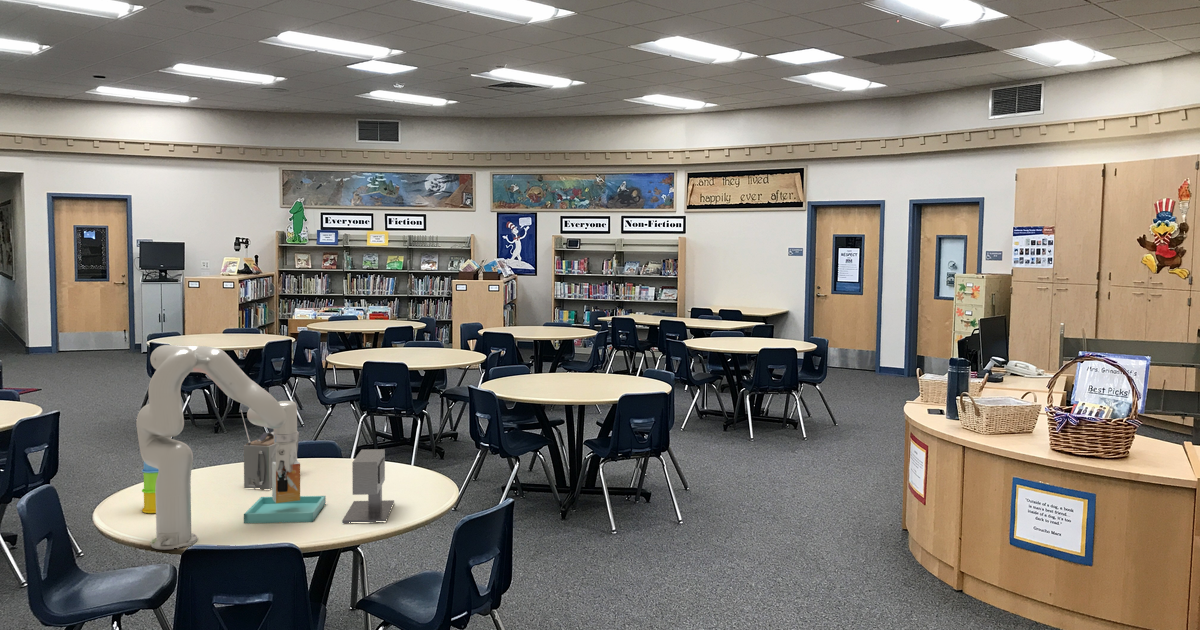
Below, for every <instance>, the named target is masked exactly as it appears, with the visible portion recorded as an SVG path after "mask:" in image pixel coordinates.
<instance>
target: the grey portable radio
mask: <svg viewBox="0 0 1200 630" xmlns="http://www.w3.org/2000/svg"><path fill="white" fill-rule="evenodd" d="M240 413H241V417H242V420H243V424H244V430H245V432H246V437H247V441H248V442H247V443H246V444H244V445H243V482H244V483H243V486H244V487H243V488H260V489H271V488H272V462H276V445H277V444H275V443H274V431H271V432H263V433H262V434H261V435H260V437H259V438H258V439H255V440H252V441H251V440H250V437H249V433H248V429H247V426H246V422H245V419H244V414H243V410H242V409H240ZM299 436H300V432H299V431H298V430H297V442H296V450H297V452H298V450H299V439H300V437H299ZM271 490H272V489H271Z"/></svg>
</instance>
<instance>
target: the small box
mask: <svg viewBox="0 0 1200 630" xmlns="http://www.w3.org/2000/svg"><path fill="white" fill-rule="evenodd" d="M283 471H286V469H285V466H284V467H283ZM277 475H278V472H277V471H276V462H272V489H271V490H272V496H271V497H272V499H273V500H274V501H275V503H282V502H291V501H300V496H301V462H299V460H298V459H297V460H296V461H295V463H294V464H293V471H292V472H290V473H289V472H288V473H287V480H288V491H287V492H278V489H277V477H278V476H277ZM284 476H285V474H284Z"/></svg>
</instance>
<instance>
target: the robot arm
mask: <svg viewBox="0 0 1200 630" xmlns="http://www.w3.org/2000/svg"><path fill="white" fill-rule="evenodd" d="M150 364H151V366H152V367H153V369H154V370H155V371H154V374H152V377H151V378H150V381H149V384H148V403H147V404H145V405H144V406H143V407H142V408H140V410H139V412H138V414H137V417H136V424H135V425H136V432H137V438H138V439H137V440H138V446H139V447H138V448H139V450H140V451H139V452H140V456H141V459H142V461H143V463H144V462H145V463H146V464H147V465H149V466H151V467H154V468H157V469H159V472H158V476H157V480H156V487H155V495H156V513H155V525H156V528H155V530H156V531H155V532H156V535H155V536H156V537H155V538H153V539H152V540H151V541H150V546H151V548H153V549H156V550H161V551H162V550H164V551H167V550H175V549H174V548H177V549H180V548H179V547H182V546H186V547H189V546H192V545H194V544H195V543H196V542H197V541H198V535H197V534H195V533H192V491H191V488H192V487H191V484H192V483H191V482H192V481H191V479H192V478H191V477H192V468H193V464H194V453H193V450H192V449H191V447H190V446H189V445H188V444H187V443H185V442H183V441H180V440H177V439H174V437H177V436H178V435H180V434H181V433H182V431H183V430H184V428H185V427H184V426H185V418H184V410H183V403H182V396H181V395H182V394H181V390H182V389H181V388H182V384H183V382H184V380H185V378H187V376H189V374H190V373H201V374H202V373H203V374H206V376H208V377H209V379H211V381H213V383H215V385H216V386H217V387H218V388H219V389H220V390H221V391H222V392H223V394H225V395H226V396H227V397H228V398H230V399H232V400H234V401H235V402H237V403H240V404H242V405H244V406H245V407H248V410H247V413H246V417H247V420H248V421H249V422H250V424H253V425H255V426H257V427H262V428H268V429H271V430H273V432H274V443H275V444H277V445H276V471H277V472H278V475H277V476H278V477H277V489H278V492H287V491H288V480H287V473H288V472H289V473H290V472H292V471H293V464H294V463H295V461H296V460H297V461H298V451H297V450H296V442H297V431H298V411H297V410H298V406H297V403H296V401H292V400H281V401H278V400H277V399H276V398H275V397H274V396H273V395H272V394H271V393H269V392H268V391H267V390H266V389H264V388H263V387H261V386H260V385H259V384H258V383H256V381H254V380H252V379H251V378H250V377H249V376H248V375H247V374H246V373H245V372H244V371H243V370H242V368H240V366H239V365H238V364H237V363H236V362H235V361H234V360H233V359H232V358H231V357H230V355H228V354H227V353H226V352H225V351H224V350H223V349H220V348H219V347H211V346H206V345H176V344H163V345H159V346H158V347H156V348H155V349H154V350H153V351H152V352H151V354H150ZM172 437H173V438H172ZM284 466H285V469H286V471H283V467H284ZM284 474H285V476H284ZM191 544H192V545H191ZM188 545H189V546H188Z"/></svg>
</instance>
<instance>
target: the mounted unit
mask: <svg viewBox="0 0 1200 630" xmlns="http://www.w3.org/2000/svg"><path fill="white" fill-rule="evenodd" d="M385 454H386V451H385V448H383V449H382V448H381V449H361V450H360V451H359V452H358V454H357V455H356V457H355V458H354V460H353V461H352V463H351V465H352V470H351V471H352V495H354V496H356V495H357V496H360V495H361V496H363V495H364V496H365V495H367V499H368V500H354V501H353V502H352V503H351V504H350V507H349V509H348V510H347V512H346V514H345V515H344V517H343V518H342V520H341V522H342V523H349V522H350V523H351V522H376V521H386V519H387V517H388V515H389V516H390V514H389V512H390V510H391V507H392V505H393V503H394V504H395V500H393V499H392V500H391V499H390V500H387V499H385V500H383V485H384V482H385V480H386V469H385V468H386V466H385V464H386V458H385ZM393 506H394V505H393ZM391 511H392V510H391ZM390 513H391V512H390ZM388 518H389V517H388ZM387 520H388V519H387ZM386 522H387V521H386ZM342 523H341V524H342Z"/></svg>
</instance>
